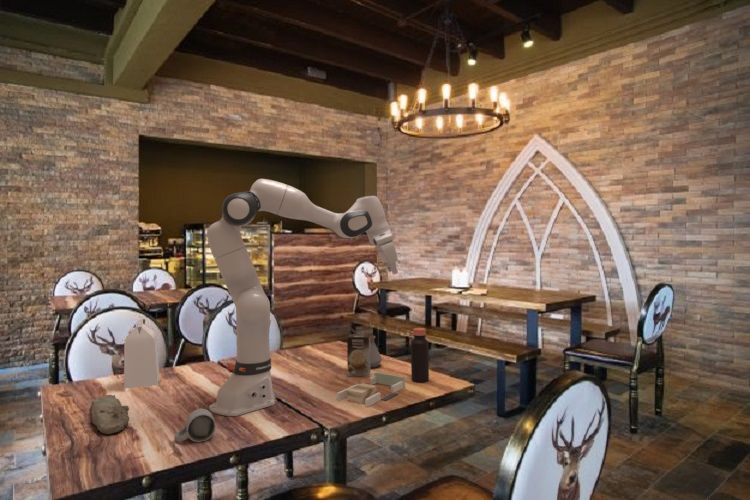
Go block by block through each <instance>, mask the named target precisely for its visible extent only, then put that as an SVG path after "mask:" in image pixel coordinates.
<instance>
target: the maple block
mask: <svg viewBox="0 0 750 500" xmlns="http://www.w3.org/2000/svg"><path fill="white" fill-rule="evenodd" d="M369 384H370V383H367V384H365V383H363V382H362V383H359V385H357V386H355V387H353V388H351V389H349V390H347V396H348V397H347V402H351V403H356V404H360V405H362V404H365V399H366V398H368V397H370V396H372V395H374V394H376V393H378V391H377V385H375V384H374V385H369Z"/></svg>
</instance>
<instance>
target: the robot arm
mask: <svg viewBox="0 0 750 500" xmlns="http://www.w3.org/2000/svg"><path fill="white" fill-rule="evenodd" d="M258 212H268V213H272V214H274V215H277V216H279V217H283V218H288V219H293V220H299V221H307V222H310V223H313V224H315V225H318V226H321V227H324V228H326V229H329V230H330V231H332V233H333V234H334V235H336V236H337V237H338V238H340V239H342V240H350V239H354V238H357V237H359V236H361V235H362V234H363V233H366V236H367V238H368V239H367V240H368V241H369V243H370V244H369V245H370V246H371V247H373V246H374V248H375V249H376V250H377V253H378V257H379V259H380V261H382V262H384V265H385V266H386V269H387V271H388V272H389V273H390V272H391V273H392V274H393V275H397V274H398V273H399V272H398V269H397V262H398V260H399V259H398V253H397V250H396V246H395V243H394V240H395V238H394V235H393V233H392V232H393V231H392V229H391V227H390V224H389V222H388V221H387V217H386V212H385V210H384V207H383V205H382V203H381V201H380V199H379V198H378V197H377V196H376V195H370V194H369V195H365V196H359V197H358V198H357V199H356V201H355V202H354V203H353V204H352V205H351V207H350V208H348V210H347V211H345V212H342V213H341V212H340V213H337V212H333V211H331V210H328V209H326V208H323V207H320V206H318V205H316V204H314V203H313V202H312V201H311V200H310V199H309V197H308V196H307V194H306V193H305V192H303V191H302V190H301V189H297V188H296V187H294V186H292V185H289V184H285V183H283V182H279V181H277V180H272V179H268V178H267V179H266V178H258V179H256V181H254V182H253V184H252V185H251V187H250V190H247V191H246V190H244V191H240V192H234V193H232V194H230V195H227V196H226V197H225V199H224V200H223V202H222V204H221V215H222V216H221V218H220V219H219V220H217V221H216V222H213V223H212V224H211V225H210V226H208V228H207V230H206V238H207V241H208V245H209V248H210V251H211V254H212V257H213V259H214V261H215V264H216V266H217V269H218V271H219V273H220V275H221V277H222V280H223V282H224V284H225V286H226V288H227V291H228V293H229V295H230V298H231V300H232V302H233V304H234V306H235V314H236V315H235V316H236V317H235V319H236V322H235V323H236V336H235V337H236V340H235V341H236V360H235V363H234V364H231V363H228V364H227V365H226V369H227V370H228V371H232V373H231V375H230V376H229V377H228V379H227V380H226V381H225V382H224V383H223V384H222V385H221V386H220V387H219V388H218V390H217V394H216V402H213V403H212V404H210V405H209V407H208V408H209V409H208V410H209V412H211V413H214V414H217V415H221V416H227V417H237V416H241V415H244V414H248V413H250V412H251V413H252V412H254V411H258V410H261V409H265V408H267V407H272V406H274V405H276V395H275V390H274V386H273V381H272V375H271V370H272V358H271V357H270V354H271V353H270V332H271V331H270V327H271V325H270V324H271V303H270V300H269V298H268V297H269V296H268V295H266V293H265V291H264V289H263V286H262V283H261V281H260V279H259V276H258V273H257V271H256V268H255V266H254V264H253V261H252V259H251V258H252V257H251V255H250V253H249V251H248V249H247V247H246V245H245V242H244V240H243V237H242V233H241V230H242V228H243V227H245V226H247V225H248V224H250V223H252V221H253V220H254V219H255V217H256V215H257V214H258Z"/></svg>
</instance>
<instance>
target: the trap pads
mask: <svg viewBox="0 0 750 500" xmlns="http://www.w3.org/2000/svg"><path fill="white" fill-rule="evenodd" d="M364 384H369V385H370V383H367V382H365V383H364ZM398 395H399V393H397V392H395V393H389V394H388V395H386V396H385V397H383V398H382V397H381V400H380V401H383V402H387V401H389V400H391V399H392V398H394V397H396V396H398Z"/></svg>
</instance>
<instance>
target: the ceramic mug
mask: <svg viewBox="0 0 750 500" xmlns="http://www.w3.org/2000/svg"><path fill="white" fill-rule="evenodd" d="M216 427H217V425H216V420H215V418H214V416H213V414H212V412H211V411H210V410H209V409H206V408H196V409H195V410H193V411H192V412H190V414H189V415H188V417H187V420H186V426H184V427H183V428H181V429H180V430H179V431H178V432H176V434H175V435H174V439H175V441H176V442H177V443H180V442H184V441H185V440H187V439H190V440H191V441H192V442H195V443H202V442H201V441H204V442H206V441H208V440H210V439H211V438H212V437H213V435H214V433H215V432H216Z"/></svg>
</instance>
